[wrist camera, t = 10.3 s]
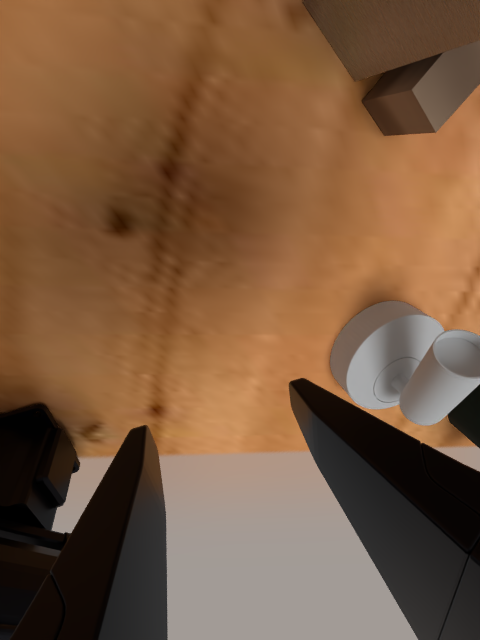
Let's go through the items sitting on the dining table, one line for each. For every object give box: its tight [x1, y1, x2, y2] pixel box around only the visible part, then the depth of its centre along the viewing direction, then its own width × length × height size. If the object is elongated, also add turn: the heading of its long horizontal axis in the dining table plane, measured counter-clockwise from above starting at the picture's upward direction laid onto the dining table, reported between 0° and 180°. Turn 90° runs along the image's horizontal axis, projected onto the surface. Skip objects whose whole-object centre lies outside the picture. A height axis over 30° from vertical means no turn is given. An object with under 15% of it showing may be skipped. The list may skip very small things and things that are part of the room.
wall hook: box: [330, 301, 480, 425], centre depth 23 cm, size 9×10×10 cm
